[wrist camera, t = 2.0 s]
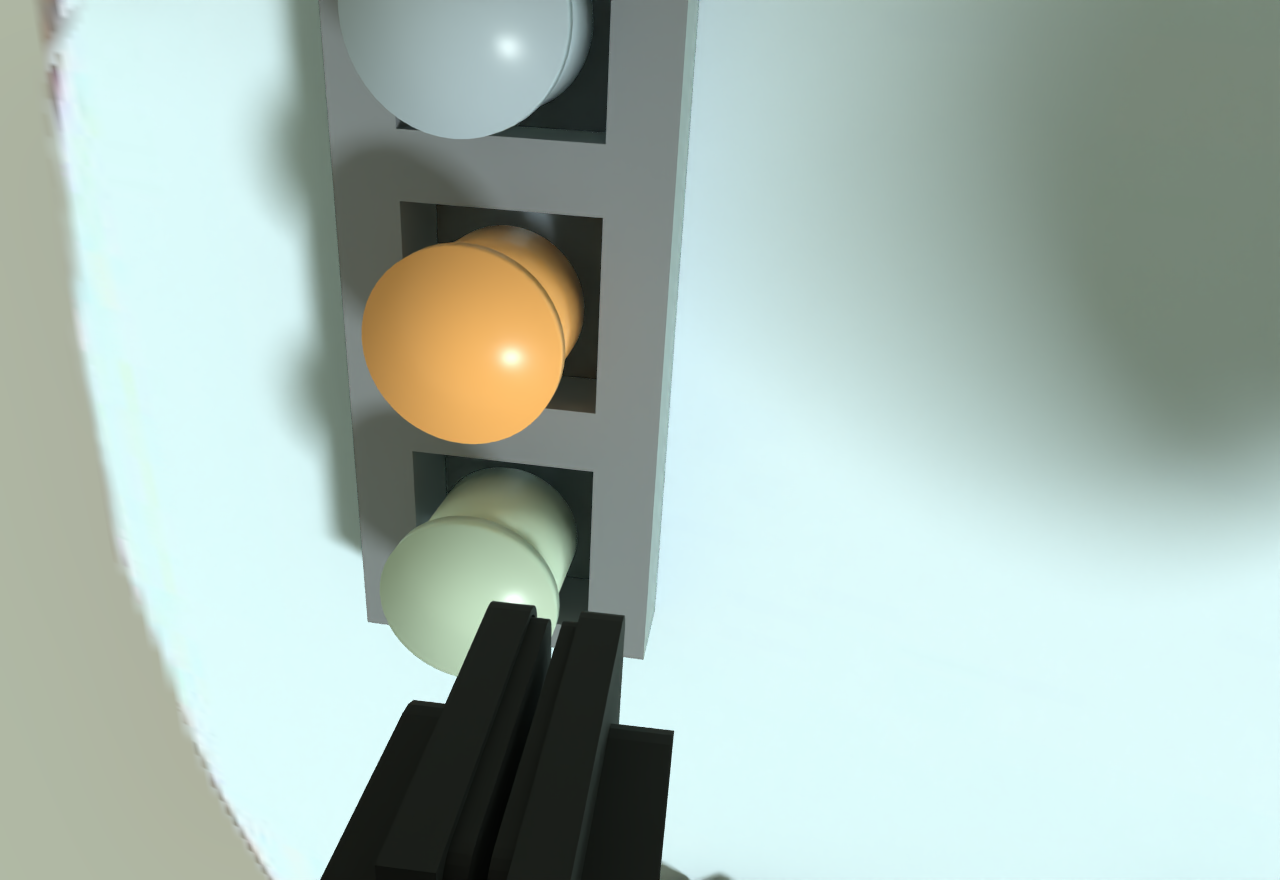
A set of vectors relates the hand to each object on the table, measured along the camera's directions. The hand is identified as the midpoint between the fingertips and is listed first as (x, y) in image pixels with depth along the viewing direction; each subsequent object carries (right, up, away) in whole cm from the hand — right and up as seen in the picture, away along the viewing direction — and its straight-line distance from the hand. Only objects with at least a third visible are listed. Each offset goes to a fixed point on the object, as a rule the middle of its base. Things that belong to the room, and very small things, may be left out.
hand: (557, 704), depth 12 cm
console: (-3, +8, +19) cm, 21 cm away
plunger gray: (-3, +15, +14) cm, 20 cm away
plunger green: (-3, 0, +20) cm, 20 cm away
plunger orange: (-3, +7, +17) cm, 19 cm away
